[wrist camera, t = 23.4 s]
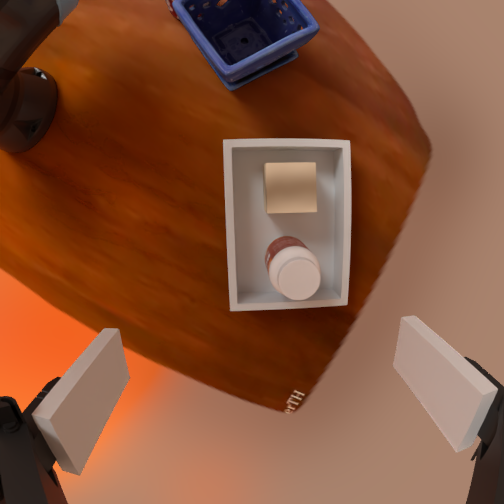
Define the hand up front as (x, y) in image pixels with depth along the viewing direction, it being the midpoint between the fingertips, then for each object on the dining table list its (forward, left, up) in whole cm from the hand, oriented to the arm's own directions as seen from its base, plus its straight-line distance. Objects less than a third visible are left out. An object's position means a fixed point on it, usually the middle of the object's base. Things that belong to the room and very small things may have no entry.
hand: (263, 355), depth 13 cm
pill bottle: (+5, -3, -31) cm, 32 cm away
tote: (+5, +2, -32) cm, 32 cm away
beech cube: (+5, +7, -31) cm, 32 cm away
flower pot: (0, +28, -32) cm, 43 cm away
